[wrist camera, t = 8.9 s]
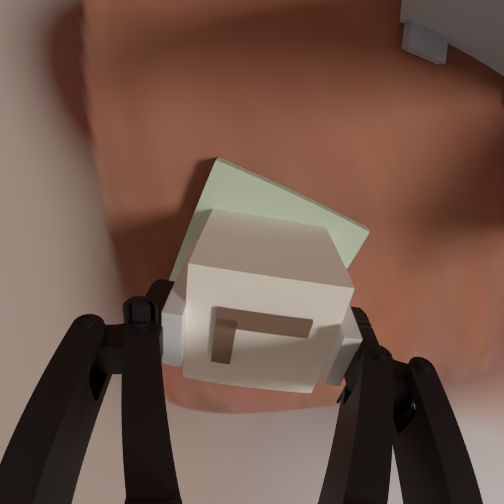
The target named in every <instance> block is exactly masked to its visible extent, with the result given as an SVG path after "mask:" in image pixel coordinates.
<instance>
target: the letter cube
mask: <svg viewBox="0 0 504 504" xmlns="http://www.w3.org/2000/svg"><path fill="white" fill-rule="evenodd" d="M354 289H355V288H354V286H353V283H352V281H351V279H350V277H349V274H348V272H347V270H346V268H345V266H344V264H343V261H342V259H341V257H340V255H339V253H338V251H337V249H336V247H335V245H334V243H333V240H332V238H331V236H330V234H329V232H328V230H327V228H326V227H322V226H316V225H310V224H305V223H299V222H293V221H287V220H282V219H276V218H270V217H264V216H257V215H251V214H245V213H239V212H232V211H226V210H219V209H212V212H211V214H210V216H209V218H208V220H207V222H206V225H205V227H204V229H203V231H202V233H201V236H200V238H199V240H198V242H197V245H196V247H195V249H194V251H193V254H192V256H191V258H190V260H189V263H188V274H187V289H186V302H187V310H186V330H185V353H184V358H183V377H185V378H191V379H196V380H202V381H208V382H214V383H221V384H227V385H235V386H242V387H250V388H259V389H268V390H278V391H289V392H302V393H311V392H312V390H313V388H314V386H315V384H316V382H317V379H318V377H319V375H320V373H321V368H322V366H323V364H324V362H325V359H326V357H327V355H328V352H329V350H330V348H331V345H332V343H333V340H334V338H335V336H336V333H337V331H338V328H339V326H340V324H341V323H342V321H343V318H344V316H345V313H346V310H347V308H348V305H349V303H350V300H351V297H352V295H353V292H354Z"/></svg>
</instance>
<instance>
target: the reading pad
mask: <svg viewBox="0 0 504 504" xmlns="http://www.w3.org/2000/svg"><path fill="white" fill-rule="evenodd" d="M212 209H219V210H226V211H232V212H239V213H245V214H251V215H257V216H264V217H270V218H276V219H282V220H287V221H293V222H299V223H305V224H310V225H316V226H322V227H326V228H327V230H328V232H329V234H330V236H331V238H332V240H333V243H334V245H335V247H336V249H337V251H338V253H339V255H340V257H341V259H342V261H343V264H344V266H345V268H346V270H347V268H348V267H349V265H350V263H351V262H352V260H353V259H354V257H355V255H356V254H357V252H358V251H359V249H360V247H361V246H362V244H363V242H364V241H365V239H366V237H367V236H368V234H369V230H368V229H367V228H366V227H365V225H363V224H361V223H359V222H357V221H355V220H353V219H351V218H349V217H347V216H345V215H343V214H341V213H339V212H337V211H335V210H333V209H331V208H329V207H327V206H325V205H323V204H321V203H319V202H317V201H315V200H313V199H311V198H309V197H307V196H305V195H303V194H301V193H298V192H296V191H294V190H292V189H290V188H288V187H286V186H283V185H281V184H279V183H277V182H275V181H273V180H270V179H268V178H266V177H264V176H261V175H259V174H257V173H255V172H252V171H250V170H248V169H246V168H243V167H241V166H239V165H236V164H234V163H232V162H229V161H227V160H224V159H222V158H220V157H218V158H217V159H216V161H215V163H214V166H213V168H212V170H211V173H210V175H209V177H208V180H207V182H206V185H205V187H204V190H203V192H202V194H201V197H200V199H199V202H198V204H197V207H196V209H195V212H194V214H193V217H192V220H191V222H190V225H189V227H188V230H187V233H186V235H185V238H184V240H183V243H182V246H181V248H180V251H179V254H178V257H177V259H176V262H175V265H174V268H173V270H172V273H171V276H170V279H169V281H174V282H175V281H176V279H177V277H178V274H179V272H180V270H181V268H182V266H183V264H184V261H185V259H186V257H187V255H188V253H189V251H190V249H191V246H192V244H193V242H194V240H195V239H199V238H200V236H201V233H202V231H203V229H204V227H205V225H206V222H207V220H208V218H209V216H210V214H211V212H212Z"/></svg>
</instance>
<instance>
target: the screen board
mask: <svg viewBox="0 0 504 504" xmlns="http://www.w3.org/2000/svg"><path fill="white" fill-rule="evenodd" d="M399 22H400V23H403V24H404V30H403V38H402V46H401V50H404V51H406V52H409V53H411V54H414V55H416V56H419V57H421V58H423V59H426V60H428V61H430V62H432V63H434V64H437V65H438V64H445V63H446V57H447V48H448V44H449V45H451V46H453V47H455V48H457V49H459V50H460V51H462V52H464V53H466V54H468V55H469V56H471V57H473V58H475V59H476V60H478V61H480V62H481V63H483V64H485V65H486V66H488V67H490V68H491V69H493V70H494V71H496V72H497V73H499V74H500V75H502V76H504V0H402V2H401V12H400V21H399Z"/></svg>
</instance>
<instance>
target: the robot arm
mask: <svg viewBox="0 0 504 504" xmlns="http://www.w3.org/2000/svg"><path fill="white" fill-rule="evenodd" d="M198 240H199V239H195V240H194V242H193V244H192V246H191V249H190V251H189V253H188V255H187V257H186V259H185V261H184V264H183V266H182V268H181V270H180V272H179V274H178V277H177V279H176V281H175V282H174V281H168V280H162V279H159V280H157V281H156V282H154V283H153V284H152V285H151V287H150V289H149V291H148V292H147V294H146V297H144V296H137V297H132V298H130V299H128V300H127V301H125V302H124V305H123V315H124V323H123V324H117V325H105V323H104V321H103V319H102V318H101V317H100V316H97V315H94V314H86V315H82V316H80V317H78V318H76V319H75V320H74V322H73V323H72V325H71V326H70V328H69V330H68V331H67V333H66V334H65V336H64V338H63V339H62V341H61V343H60V345H59V346H58V348H57V350H56V351H55V353H54V355H53V357H52V358H51V360H50V362H49V364H48V366H47V368H46V369H45V371H44V373H43V375H42V377H41V378H40V380H39V382H38V384H37V386H36V388H35V390H34V392H33V394H32V396H31V398H30V399H29V401H28V404H27V405H26V408H25V410H24V412H23V414H22V416H21V418H20V420H19V422H18V424H17V426H16V428H15V431H14V433H13V435H12V437H11V440H10V442H9V444H8V447H7V449H6V451H5V454H4V456H3V458H2V461H1V464H0V504H71V503H72V499H73V495H74V491H75V488H76V484H77V480H78V477H79V473H80V470H81V466H82V462H83V460H84V456H85V453H86V450H87V446H88V443H89V440H90V437H91V433H92V431H93V428H94V425H95V421H96V419H97V416H98V412H99V410H100V407H101V404H102V401H103V398H104V395H105V393H106V390H107V387H108V384H109V382H110V379H111V376H112V374H122V443H123V444H122V445H123V463H124V476H125V488H126V500H125V504H182V500H181V497H180V492H179V488H178V482H177V477H176V471H175V466H174V460H173V454H172V448H171V441H170V434H169V427H168V420H167V412H166V404H165V395H164V386H163V376H162V365H161V359H163V364H166V365H171V366H177V367H181V364H182V360H183V357H184V353H185V330H186V310H187V302H186V289H187V274H188V263H189V260H190V258H191V256H192V254H193V251H194V249H195V247H196V245H197V242H198ZM321 376H322V381H323V385H336V386H340V384H341V382H342V380H343V378H344V377H345V381H346V385H345V387H344V389H343V391H342V393H341V395H340V396H339V398H338V400H337V402H336V403H339V402H340V400H341V402H340V408H339V413H338V419H337V424H336V429H335V434H334V439H333V444H332V448H331V453H330V457H329V462H328V466H327V470H326V474H325V478H324V482H323V486H322V490H321V494H320V498H319V501H318V504H387V501H388V493H389V483H390V472H391V459H392V444H393V449H394V453H395V459H396V464H397V469H398V474H399V480H400V486H401V491H402V498H403V504H483V502H482V499H481V495H480V490H479V487H478V484H477V480H476V477H475V474H474V470H473V467H472V464H471V461H470V457H469V454H468V451H467V449H466V446H465V443H464V440H463V437H462V434H461V432H460V429H459V426H458V423H457V421H456V418H455V416H454V413H453V410H452V408H451V405H450V403H449V400H448V398H447V395H446V393H445V391H444V388H443V386H442V384H441V381H440V379H439V377H438V374H437V372H436V370H435V368H434V366H433V365H432V363H431V362H429V361H428V360H427V359H425V358H422V357H413V358H412V359H411V360H410V361H409V363H408V364H406V363H403V362H399V361H396V360H393V358H392V354H391V353H390V352H389V351H388V350H387V349H386V348H384V347H382V346H380V345H379V343H378V341H377V338H376V336H375V334H374V331H373V329H372V326H371V324H370V323H369V319H368V317H367V315H366V314H365V313H364V312H363V310H362V309H361V308H357V307H350V304H349V305H348V308H347V310H346V313H345V316H344V318H343V321H342V323H341V324H340V326H339V328H338V331H337V333H336V336H335V338H334V340H333V343H332V345H331V348H330V350H329V352H328V355H327V357H326V359H325V362H324V364H323V366H322V368H321ZM414 404H415V407H414ZM415 408H416V409H415Z"/></svg>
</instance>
